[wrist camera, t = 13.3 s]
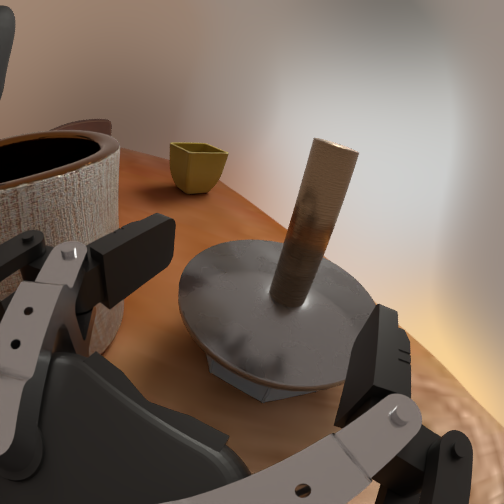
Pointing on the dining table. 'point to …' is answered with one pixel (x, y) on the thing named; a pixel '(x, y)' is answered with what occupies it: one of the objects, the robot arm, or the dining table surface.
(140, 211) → the dining table surface
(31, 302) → the robot arm
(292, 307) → the spindle on round base
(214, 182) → the flower pot
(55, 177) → the planter
